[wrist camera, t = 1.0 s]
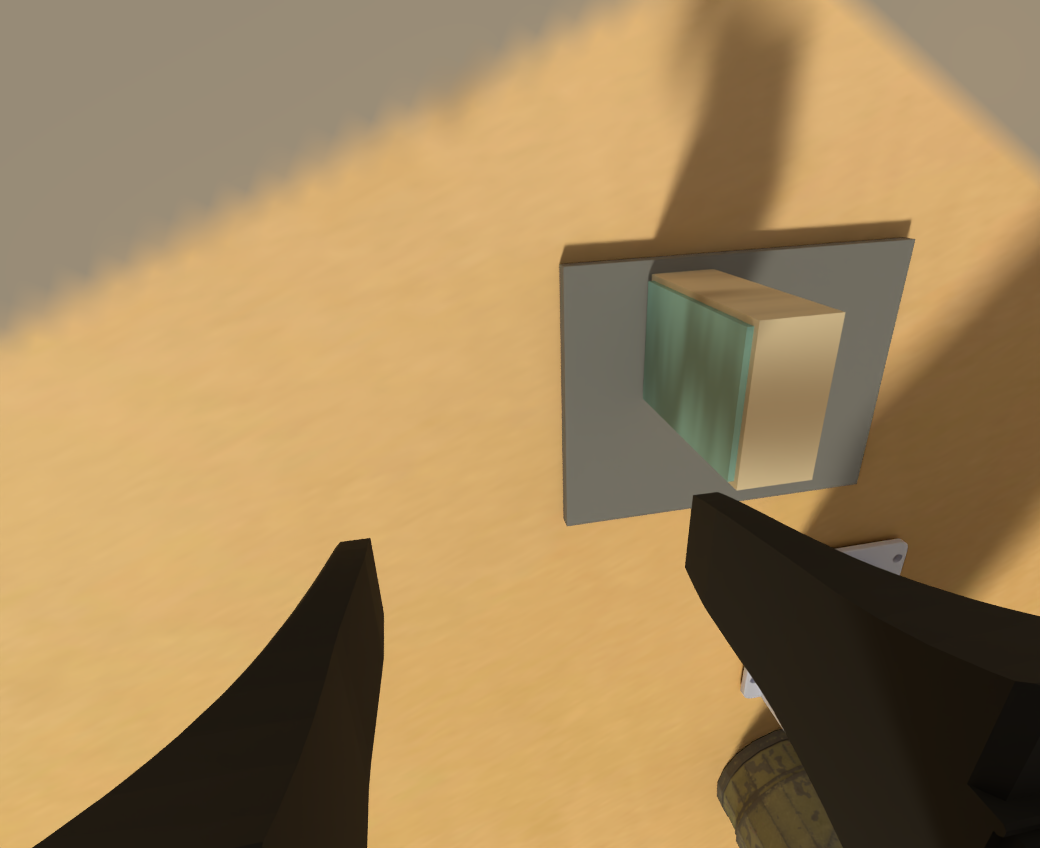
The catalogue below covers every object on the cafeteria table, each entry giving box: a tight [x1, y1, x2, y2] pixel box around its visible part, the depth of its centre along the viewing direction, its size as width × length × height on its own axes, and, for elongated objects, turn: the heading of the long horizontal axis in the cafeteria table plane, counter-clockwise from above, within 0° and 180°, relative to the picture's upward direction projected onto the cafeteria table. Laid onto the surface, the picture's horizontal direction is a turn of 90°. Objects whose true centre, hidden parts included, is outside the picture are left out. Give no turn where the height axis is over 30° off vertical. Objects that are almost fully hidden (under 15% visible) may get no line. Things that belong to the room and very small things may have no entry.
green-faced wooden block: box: [643, 269, 846, 490], centre depth 18 cm, size 5×3×7 cm, turn 3°
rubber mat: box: [559, 238, 915, 526], centre depth 23 cm, size 11×14×1 cm
